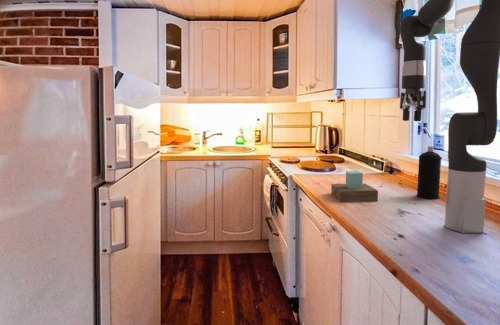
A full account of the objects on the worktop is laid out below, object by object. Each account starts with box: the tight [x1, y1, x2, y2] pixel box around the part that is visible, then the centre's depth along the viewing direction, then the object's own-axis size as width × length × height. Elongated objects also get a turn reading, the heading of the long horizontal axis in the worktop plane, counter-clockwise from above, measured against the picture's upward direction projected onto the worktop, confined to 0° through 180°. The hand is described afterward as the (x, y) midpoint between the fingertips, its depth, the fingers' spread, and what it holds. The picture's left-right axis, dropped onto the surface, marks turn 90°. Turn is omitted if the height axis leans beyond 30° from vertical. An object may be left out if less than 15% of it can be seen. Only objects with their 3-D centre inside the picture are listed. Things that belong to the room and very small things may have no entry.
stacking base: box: [331, 183, 379, 203], centre depth 144 cm, size 14×14×4 cm
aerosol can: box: [415, 145, 443, 200], centre depth 142 cm, size 8×8×20 cm
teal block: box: [345, 170, 364, 189], centre depth 143 cm, size 5×5×6 cm
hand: (411, 121), depth 131 cm, fingers open, 8 cm apart
